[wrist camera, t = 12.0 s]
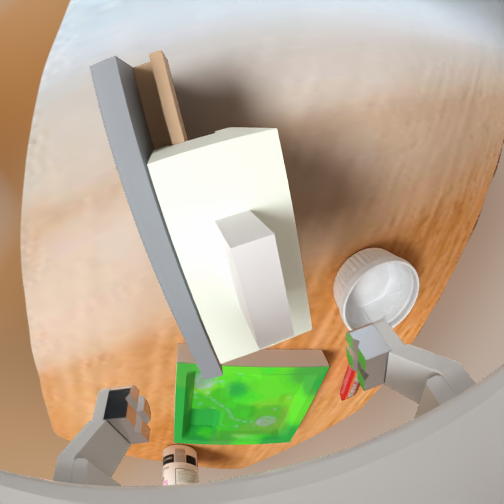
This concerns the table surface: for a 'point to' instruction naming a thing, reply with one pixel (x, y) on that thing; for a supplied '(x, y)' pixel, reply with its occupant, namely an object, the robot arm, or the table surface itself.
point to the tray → (246, 397)
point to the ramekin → (375, 288)
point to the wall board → (139, 180)
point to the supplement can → (179, 465)
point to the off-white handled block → (235, 236)
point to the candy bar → (349, 384)
